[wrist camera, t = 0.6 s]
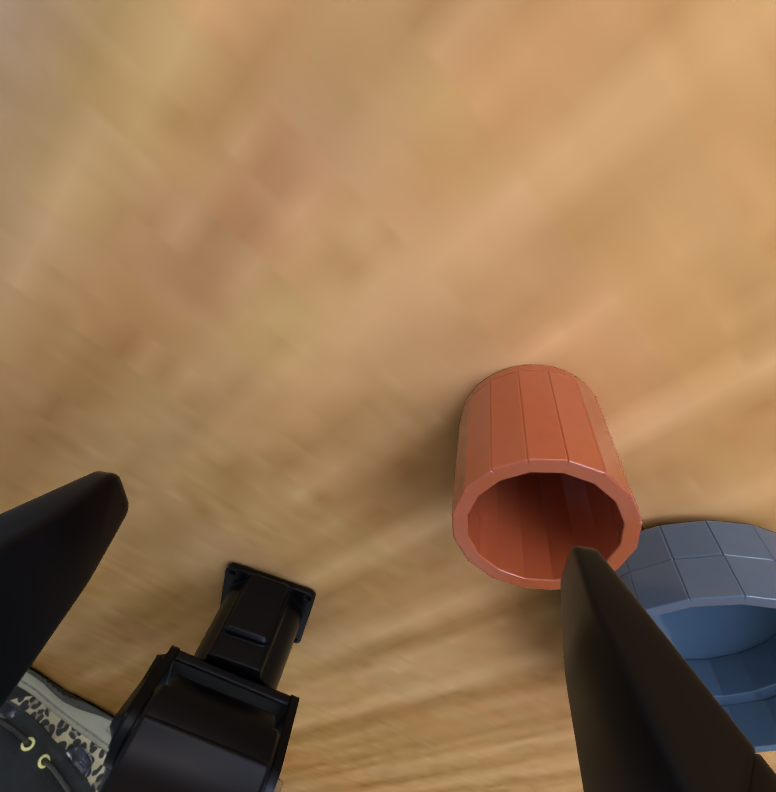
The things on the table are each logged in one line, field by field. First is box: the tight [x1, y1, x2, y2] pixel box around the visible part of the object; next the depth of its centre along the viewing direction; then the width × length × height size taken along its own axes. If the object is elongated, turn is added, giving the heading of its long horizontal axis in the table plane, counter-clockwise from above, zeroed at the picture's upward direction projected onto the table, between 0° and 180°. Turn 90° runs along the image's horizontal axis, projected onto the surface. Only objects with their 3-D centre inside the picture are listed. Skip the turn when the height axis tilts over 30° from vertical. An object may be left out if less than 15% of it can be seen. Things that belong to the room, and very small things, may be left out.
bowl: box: [615, 520, 776, 753], centre depth 25 cm, size 13×13×5 cm
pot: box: [452, 365, 643, 590], centre depth 20 cm, size 7×7×7 cm
